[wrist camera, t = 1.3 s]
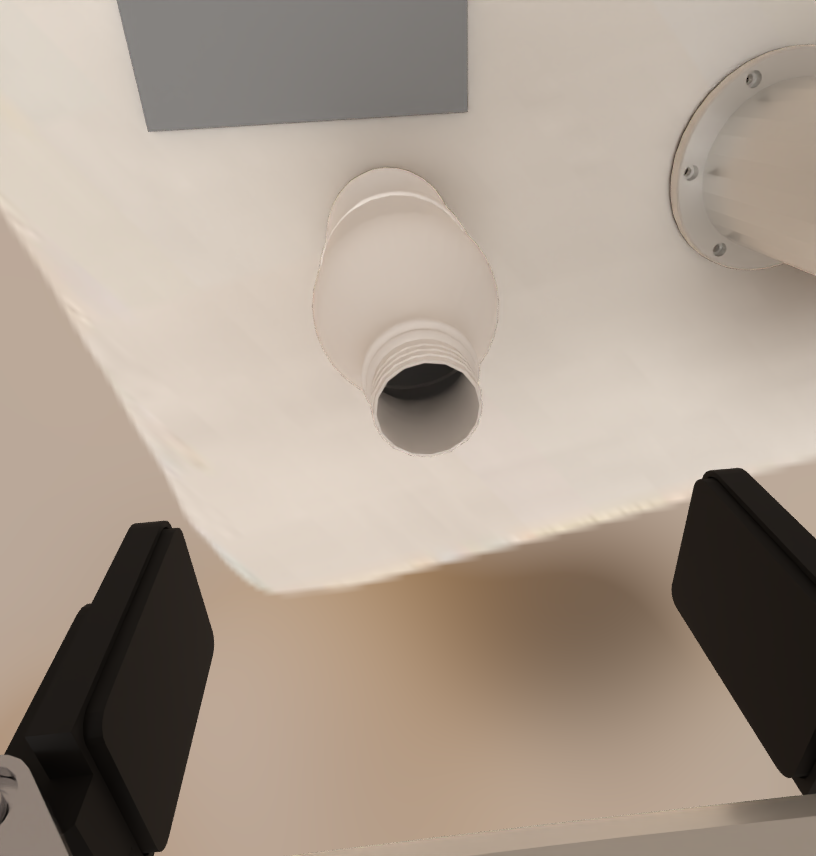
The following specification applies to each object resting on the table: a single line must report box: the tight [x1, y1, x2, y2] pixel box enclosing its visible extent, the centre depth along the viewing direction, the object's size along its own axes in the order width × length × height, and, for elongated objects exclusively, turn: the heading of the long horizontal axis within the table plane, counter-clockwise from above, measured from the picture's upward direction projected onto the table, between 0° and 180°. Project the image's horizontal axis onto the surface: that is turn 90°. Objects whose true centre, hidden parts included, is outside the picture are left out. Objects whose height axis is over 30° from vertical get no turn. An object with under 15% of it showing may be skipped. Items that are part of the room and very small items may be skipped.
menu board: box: [117, 0, 468, 132], centre depth 32 cm, size 18×11×1 cm, turn 93°
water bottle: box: [312, 167, 499, 457], centre depth 27 cm, size 7×7×25 cm
